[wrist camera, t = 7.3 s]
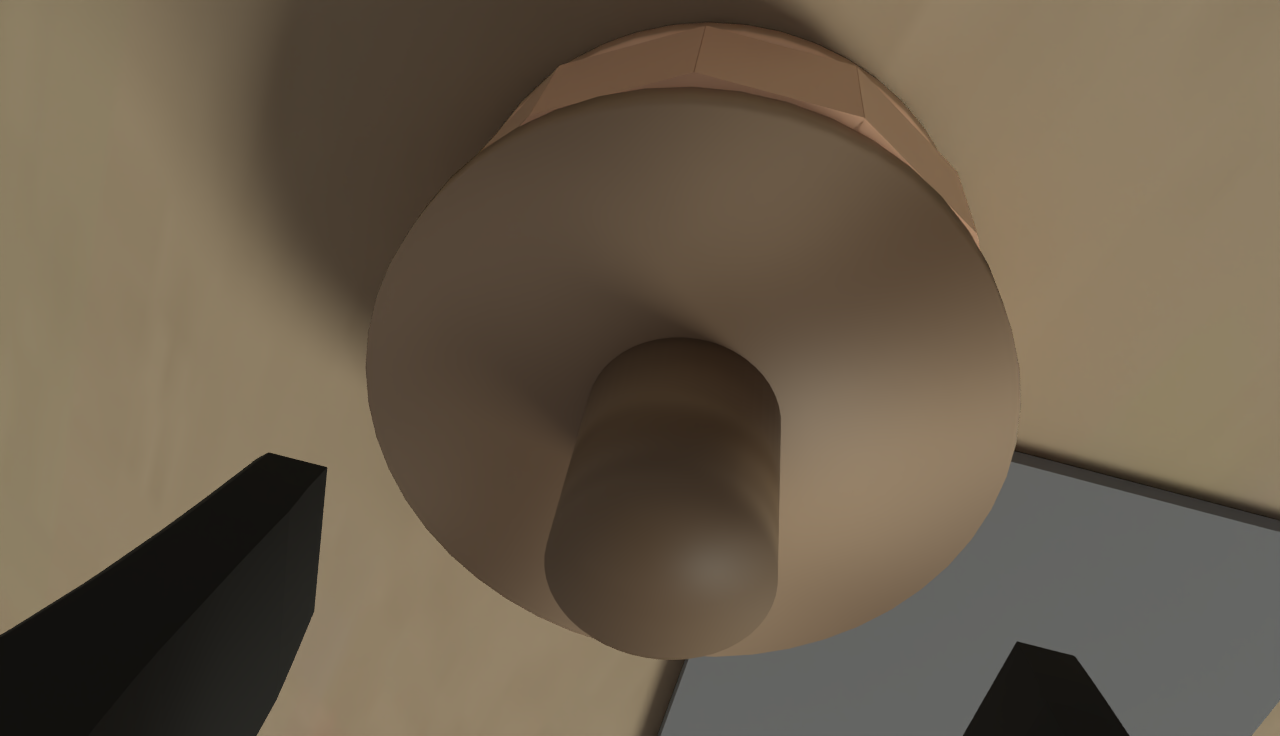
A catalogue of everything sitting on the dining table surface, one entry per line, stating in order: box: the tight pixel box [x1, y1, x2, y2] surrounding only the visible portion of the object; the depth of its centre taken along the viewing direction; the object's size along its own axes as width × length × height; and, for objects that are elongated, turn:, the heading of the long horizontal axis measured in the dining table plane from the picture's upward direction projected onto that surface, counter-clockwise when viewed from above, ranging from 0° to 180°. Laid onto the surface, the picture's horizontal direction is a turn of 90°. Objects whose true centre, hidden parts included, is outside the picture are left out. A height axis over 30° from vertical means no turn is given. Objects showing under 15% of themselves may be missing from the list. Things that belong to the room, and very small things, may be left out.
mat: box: [658, 451, 1280, 736], centre depth 25 cm, size 12×12×1 cm
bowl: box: [481, 22, 980, 249], centre depth 19 cm, size 9×9×3 cm
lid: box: [366, 87, 1021, 660], centre depth 16 cm, size 10×10×4 cm
